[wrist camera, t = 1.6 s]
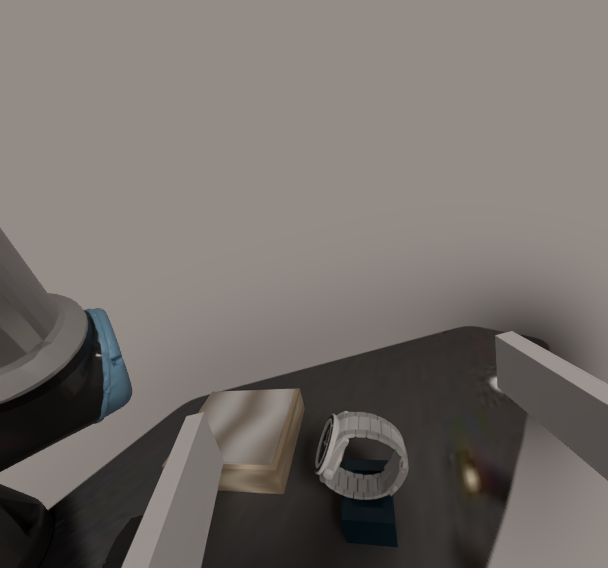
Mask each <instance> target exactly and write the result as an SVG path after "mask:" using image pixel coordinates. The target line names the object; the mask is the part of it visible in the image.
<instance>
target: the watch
mask: <svg viewBox="0 0 608 568" xmlns="http://www.w3.org/2000/svg"><path fill="white" fill-rule="evenodd" d="M358 426H359V429H358ZM366 435H367V438H370V439H375V440H377V439H378V441H380V442H383V443H385V444H388V445H389V446H390V447H392V448H393V449H395V451H394V454H393V456H392V457H391V459H390V460H389V462H388V461H386V460H346V459H345V466H344V469H343V468H341V467H339V465H340V463H341V460H342V457H343V454H344V450H345V447H346V446H347V445H348V443H349V439H347V438H353V437H355V436H356V437H364V438H365V437H366ZM315 473H316V474H318V475H319V476H320V481H321V482H323V483H325V484H326V485H327V486H328V487H329V488H330V489H332V490H334V491H335V492H337V493H338V494H341V495H343V499H342V516H341V520H342V524H343V528H344V532H345V536H346V540H347V542H349V543H359V544H370V545H380V546H390V547H398V546H397V535H396V524H395V514H394V503H393V494H394V493H395V492H396V491H397V490H398V489H399V488H400V486H401V485H402V484H403V482H404V480H405V478H406V475H407V473H408V458H407V452H406V448H405V446H404V442H403V438H402V436H401V434H400V432H399V431H398V430H397V429H396V428H395V427H394V426H393V425H392V424H391V423H390V422H388V421H387V420H385V419H383V418H381V417H379V416H376V415H374V414H370V413H364V412H356V413H355V412H347V411H345V412H342V413H340V414H338V415H337V416H336V415H335V414H332V415H331V416H330V417H329V418H328V420H327V422H326V424H325V427H324V429H323V432H322V435H321V438H320V442H319V445H318V450H317V454H316V460H315Z"/></svg>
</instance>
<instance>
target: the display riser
mask: <svg viewBox="0 0 608 568" xmlns="http://www.w3.org/2000/svg"><path fill="white" fill-rule="evenodd" d="M304 410H305V407H304V404H303V400H302V396H301V392H300V389H276V390H250V391H223V392H212V393H211V395H210V396H209V398H208V399H207V401H206V402H205V403H204V405H203V406H202V408H201V409H200V411H199V412H198V413H202V412H204V414H205V416H206V419H207V421H208V423H209V426H210V428H211V431H212V433H213V435H214V438H215V440H216V442H217V445H218V447H219V450H220V452H221V454H222V457H223V459H224V462H223V466H222V471H221V476H220V481H219V485H218V490H221V491H238V492H255V493H271V494H284V492H285V488H286V484H287V479H288V475H289V471H290V467H291V463H292V459H293V455H294V451H295V447H296V443H297V438H298V434H299V430H300V426H301V422H302V418H303V414H304ZM169 456H170V455H169ZM169 456H168V458H169ZM168 458H167V459H166V461H165V462H164V464H163V465H162V467H163V469H164V467H165V465H166V463H167V461H168Z"/></svg>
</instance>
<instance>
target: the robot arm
mask: <svg viewBox="0 0 608 568" xmlns="http://www.w3.org/2000/svg"><path fill="white" fill-rule="evenodd" d="M495 340H496V361H497V383H498V388H499V389H500V390H501V391H503V392H504V393H505V394H506V395H507V396H508V397H510V398H511V399H512V400H513V401H514V402H516V403H517V404H518V405H519V406H520V407H521V408H523V409H524V410H525V411H526V412H527V413H529V414H530V415H531V416H532V417H533V418H534V419H536V420H537V421H538V422H539V423H540V424H542V425H543V426H544V427H545V428H546V429H547V430H549V431H550V432H551V433H552V434H553V435H555V436H556V437H557V438H558V439H559V440H561V441H562V442H563V443H564V444H565V445H566V446H567V447H569V448H570V449H571V450H572V451H574V452H575V453H576V454H577V455H578V456H579V457H581V458H582V459H583V460H584V461H585V462H586V463H588V464H589V465H590V466H591V467H593V468H594V469H595V470H596V471H597V472H598V473H599V474H601V475H602V476H603V477H604V478H605V479H606V480H608V384H606V383H605V382H603V381H601V380H599V379H597V378H596V377H594V376H592V375H590V374H588V373H587V372H585V371H583V370H581V369H579V368H578V367H576V366H574V365H572V364H570V363H569V362H567V361H565V360H563V359H561V358H560V357H558V356H556V355H554V354H552V353H551V352H549V351H547V350H545V349H543V348H542V347H540V346H538V345H536V344H534V343H533V342H531V341H529V340H527V339H525V338H524V337H522V336H520V335H518V334H516V333H514V332H513V331H511V332H507V333H503V334H499V335H495ZM131 395H132V387H131V382H130V379H129V375H128V372H127V369H126V366H125V363H124V361H123V359H122V355H121V352H120V348H119V345H118V342H117V339H116V337H115V334H114V331H113V328H112V326H111V323H110V321H109V318H108V316H107V314H106V312H105V311H104V310H103V309H100V308H96V309H87V310H83V309H82V308H81V307H80V306H79V305H78V303H77V302H75V301H73V300H72V299H70V298H67V297H65V296H61V295H57V294H51V293H47V292H46V291H45V289H44V288H43V286H42V285H41V284H40V283H39V281H38V280H37V278H36V277H35V275H34V274H33V273H32V271H31V270H30V268H29V267H28V266H27V264H26V263H25V261H24V260H23V259H22V257H21V256H20V255H19V253H18V252H17V250H16V249H15V248H14V246H13V245H12V244H11V242H10V241H9V240H8V238H7V237H6V235H5V234H4V232H3V231H2V230H1V228H0V472H1V471H3V470H5V469H7V468H9V467H11V466H13V465H14V464H16V463H18V462H20V461H22V460H24V459H26V458H28V457H30V456H32V455H33V454H35V453H37V452H39V451H41V450H43V449H45V448H47V447H49V446H51V445H53V444H55V443H56V442H58V441H60V440H62V439H64V438H66V437H68V436H70V435H72V434H74V433H76V432H78V431H80V430H82V429H84V428H86V427H88V426H90V425H92V424H95V423H98V422H100V421H102V420H103V419H104V417H106V416H108V415H109V414H111V413H113V412H114V411H116V410H118V409H120V408H121V407H123V406H124V405H125V404H127V403H128V401H129V400H130V398H131ZM223 462H224V459H223V457H222V454H221V452H220V450H219V447H218V445H217V442H216V440H215V438H214V435H213V433H212V431H211V428H210V426H209V423H208V421H207V419H206V416H205V414H204V412H202V413H198V414H194V415H191V416H187V417H186V419H185V421H184V423H183V426H182V428H181V430H180V433H179V435H178V437H177V440H176V442H175V444H174V447H173V449H172V451H171V454H170V456H169V458H168V461H167V463H166V465H165V467H164V470H163V472H162V474H161V477H160V479H159V481H158V484H157V486H156V488H155V491H154V493H153V495H152V498H151V500H150V502H149V505H148V507H147V509H146V512H145V514H144V515H143V516H139V517H135V518H131V519H130V521H129V522H128V523H127V525H126V526H125V527H124V529H123V530H122V531H121V532H120V534H119V535H118V536H117V538H116V540H115V542H114V544H113V546H112V548H111V550H110V552H109V554H108V556H107V558H106V563H105V564H103V566H102V568H201V565H202V560H203V556H204V551H205V546H206V541H207V537H208V532H209V527H210V523H211V518H212V513H213V509H214V504H215V499H216V495H217V490H218V485H219V481H220V476H221V471H222V466H223ZM53 528H54V523H53V518H52V516H51V514H50V513H49V511H48V510H47V509H46V507H45V506H44V505H43V504H42V503H41V502H40V501H39V500H38V499H36V498H34V497H31V496H29V495H26V494H24V493H21V492H19V491H16V490H14V489H11V488H8V487H6V486H4V485H1V484H0V568H38V566H39V565H40V563H41V561H42V559H43V557H44V555H45V553H46V551H47V549H48V546H49V544H50V541H51V538H52V534H53Z"/></svg>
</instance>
